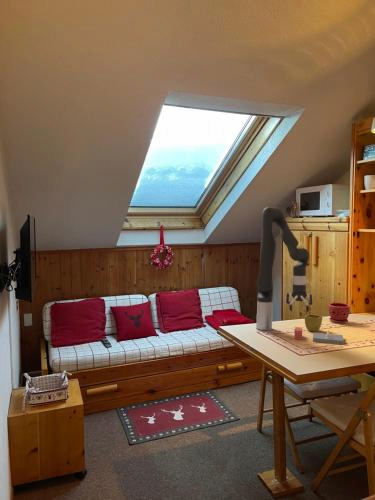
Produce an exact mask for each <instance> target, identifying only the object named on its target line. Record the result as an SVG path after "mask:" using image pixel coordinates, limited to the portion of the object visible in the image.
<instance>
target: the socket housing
mask: <svg viewBox="0 0 375 500" xmlns="http://www.w3.org/2000/svg"><path fill="white" fill-rule="evenodd" d="M293 339H294V340H301V341H302V339H303V327H299V326H295V327H294V338H293Z"/></svg>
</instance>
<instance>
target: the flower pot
mask: <svg viewBox="0 0 375 500" xmlns="http://www.w3.org/2000/svg"><path fill="white" fill-rule="evenodd" d="M322 323H323V315H318V314H311V313H309V314H306V315H304V324H305V328H306V329H307V330H308V331H309V332H310V331H311V332H314V333H317V332H318V331H319V330H320V328H321V326H322Z"/></svg>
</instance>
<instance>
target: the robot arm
mask: <svg viewBox="0 0 375 500" xmlns="http://www.w3.org/2000/svg"><path fill="white" fill-rule="evenodd" d="M273 223H274V224H275V225H276V226H277V227H278V229H279V230H280V231H279V232H280V238H281V240H282V242H283V244H284V245H285V246H286V248H287V251H288V254H289V257H290V259H291V260H293V261H294V262H297V264H295V265H293V266H292V267H293V268H292V291H291V293H290V292H286V304H288V305H289V311H290V312H293V303H295V301H296V302H304V303H305V306H306V307H305V308H306V309H305V312H306V313H308V312H309V310H310V306H311V305H313V294H312V293H307V267H308V262H309V258H310V254H309V250H308V249H307V248H302V247H300V248H298V246H299V241H298V239H297V238H296V236H295V235H294V233H293V231H292V230H291V229H290V227H289V224H288V223H287V221H286V217H285V216H284V213H283V211H282V210H281V209H280V208H278V207H272V206H267V207H265V208H264V209H263V210H262V215H261V241H260V250H259V272H258V278H257V282H256V286H257V304H256V305H257V307H256V309H257V310H256V312H257V313H256V327H255V329H256V330H260V331H271V330H272V329H273V299H274V298H273V296H274V295H273V294H274V281H273V267H274V263H275V258H276V251H277V243H276V239H275V237H274V234H273ZM291 297H292V300H290V298H291ZM307 297H308V298H309V301H308V300H307V299H306V298H307Z"/></svg>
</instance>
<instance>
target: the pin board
mask: <svg viewBox="0 0 375 500" xmlns="http://www.w3.org/2000/svg"><path fill="white" fill-rule="evenodd" d="M343 335H344V334H338V333H337V334H336V333H330V330H329V329H327V330H326V333H322V332H312V342H314V343H325V344H336V345H345V339H344V336H343Z"/></svg>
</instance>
